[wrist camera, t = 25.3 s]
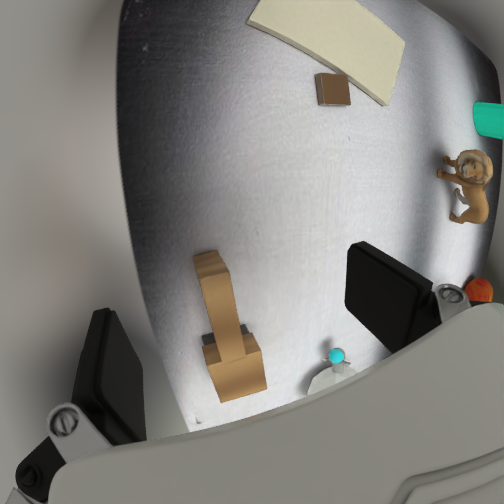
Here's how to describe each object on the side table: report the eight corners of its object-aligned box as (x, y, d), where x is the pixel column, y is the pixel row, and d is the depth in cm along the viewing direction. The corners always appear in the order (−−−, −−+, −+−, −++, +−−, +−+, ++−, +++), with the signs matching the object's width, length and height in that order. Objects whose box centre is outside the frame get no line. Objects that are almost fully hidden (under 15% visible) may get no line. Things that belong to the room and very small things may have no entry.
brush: (176, 258, 23) (179, 283, 19) (232, 244, 24) (247, 266, 20) (212, 372, 29) (221, 403, 24) (254, 360, 30) (267, 389, 26)
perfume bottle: (299, 423, 32) (288, 367, 29) (325, 385, 38) (320, 327, 35) (349, 438, 27) (353, 383, 24) (371, 396, 33) (376, 335, 30)
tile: (245, 23, 17) (248, 19, 16) (283, -36, 14) (287, -40, 13) (382, 106, 23) (388, 105, 22) (399, 43, 21) (405, 42, 20)
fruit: (453, 305, 42) (480, 325, 35) (464, 274, 40) (494, 292, 33) (467, 299, 44) (492, 316, 37) (477, 270, 42) (504, 286, 35)
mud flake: (314, 74, 20) (320, 72, 19) (341, 77, 21) (347, 75, 20) (318, 105, 21) (324, 103, 20) (344, 106, 22) (351, 105, 21)
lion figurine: (421, 159, 27) (481, 172, 19) (437, 133, 26) (494, 141, 18) (452, 229, 34) (497, 249, 26) (466, 204, 33) (509, 221, 25)
